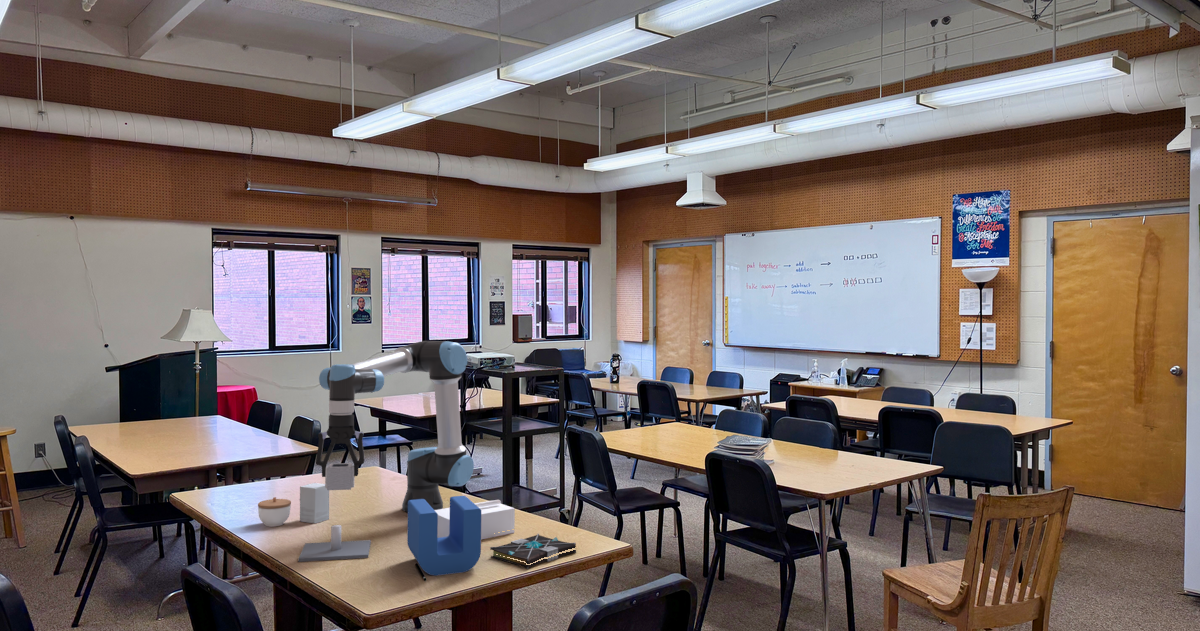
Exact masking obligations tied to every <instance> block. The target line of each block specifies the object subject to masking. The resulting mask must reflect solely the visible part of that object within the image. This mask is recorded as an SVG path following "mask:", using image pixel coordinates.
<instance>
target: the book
mask: <svg viewBox="0 0 1200 631" xmlns="http://www.w3.org/2000/svg"><path fill="white" fill-rule="evenodd" d="M576 544H577V543H576V542H567V541H562V540H559V539H558V538H557V536H555V537H554V538H549V537H547V536H543V535H540V534H539V533H537V534H535V535H533V536H529V537H526V538H519V539H516V540H512V541H510V542H509V543H505V544H502V545H499V546H490V547H489V548H490V551H491V550H492V552H493V554H492V555H490V559H496V560H500V561H505V562H508V563H510V564H513V565H517V566H520V567H522V568H525V569H527V570H529V568H532V567H534V566H537V565H539V564H541V563H545V562H546V563H548V562H551V561H556V560H558V559H559V558H560V557H564V556H568V555H571V554H575V553H576V554H577V549H576V550H573V551H570V552H566V553H562V554H559V555H557V556H554V557H551V558H548V559H543V560H541V561H538V562H536V563H533V562H535V561H537V560H539V559H541V558H544V557H549V556H551V555H553V554H556V553H559V552H562V551H565V550H568V549H572V548H575V547H576V548H577V546H576ZM496 554H498V555H496ZM500 555H501V556H500ZM503 556H505V557H503ZM507 557H510V558H514V559H518V560H521V561H525V562H526V563H527V564H530V563H533V564H531V565H526V563H524V562H520V561H517V560H513V559H510V558H507Z"/></svg>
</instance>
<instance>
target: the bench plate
mask: <svg viewBox="0 0 1200 631" xmlns="http://www.w3.org/2000/svg"><path fill="white" fill-rule="evenodd" d="M330 529H331V530H330V541H324V542H323V541H322V542H305V543H304V546H303V547H302V550H301V551H300V555H299V557H298V558H297V561H298V563H299V562H301V563H302V562H319V561H321V562H322V561H333V560H334V561H336V560H353V559H368V558H369V555H370V549H371V544H372V541H371V539H364V540H363V539H361V540H344V541H343V540H342V525H341V524H335V525H331V527H330Z"/></svg>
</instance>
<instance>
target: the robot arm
mask: <svg viewBox="0 0 1200 631" xmlns="http://www.w3.org/2000/svg"><path fill="white" fill-rule="evenodd" d="M467 365H468V355H467V352H466V349H465V348H464V347H463V346H462V344H461V343H459V342H453V341H449V340H447V341H446V340H443V341H442V340H440V341H439V340H422V341H418V342H413V343H410V344H408V345H404V346H401V347H398V348H396V349H395V350H394V351H392V352H390V353H389V352H388V353H385V354H382V355H378V356H375V357H371V358H368V359H363V360H360V361H357V362H353V363H350V364H348V363H346V364H341V363H340V364H332V365H331V366H330V367H326V368H324V369H322V370H321V371H320V374H319V375H318V382H319V385H320V386H321V388H323V389H324V390H327V391H328V390H329V398H328V401H329V403H328V412H329V415H328V428H327V430H326V431H324V432H322V431H321V432H319V433H318V434H317V437H318V446H317V453H316V459H315V460H316V461H315V465H316V466H321V476H322V478H324V479H325V480H324V484H325V488H327V468H328V466H329V465H328V462H329V461H330V460H329V459H330V457H331V455H332V452H333V449H334V447H335V445H337V444H338V445H339V444H342V445H343V444H344V445H346V447H347V449H348V452H349V455H350V458H351V460H352V463H353V465H352V476H351V489H352V488H355V477H358V475H359V467H360V465H364V463H365V451H364V443H363V442H364V441H363V438H364V432H363V431H357V430H356V429H355V415H354V414H353V413H354V412H355V394H365V393H367V394H368V393H370V394H371V393H375V392H379V391H380V390H382V389H383V388H384V385H385V377H388V376H391V375H394V374H397V373H402V374H406V373H409V372H423V373H424V372H425V373H428V374H429V376H428V377H429V380H430V381H431V382H433V387H434V388H433V389H434V399H435V415H436V416H435V417H436V429H437V443H438V444H437V446H430V447H420V448H415V449H411V450H409V451H408V454H407V460H406V463H407V465H406V466H407V467H406V468H407V469H406V470H407V471H406V472H407V473H406V474H407V476H406V478H407V487H406V491H405V494H404V498H403V500H402V505H401V509H402V511H403V512H405V513H408V501H409V500H416V499H425V500H426V502H427V503H428V504H429V505H430V506H431V507H432V508H433V509H434V510H438V509H444V501H443V498H442V495H441V491H440V488H439V485H444V486H448V487H463V486H464V485H466V484H467V483H468V482H469V481H470V480H471V477H472V475H473V472H474V470H475V469H474V466H475V463H474V462H475V461H474V458H472V456H470V455H469V454H467V448H466V446H465V445H463V443H462V442H463V441H462V427H461V425H462V424H461V413H460V396H459V381H460V379H462V373H464V372H465V370H466V368H467V367H466V366H467ZM327 436H328V438H329V439H330V440H331V441H330V444H329V447H328V449H327V451H326V454H325V455H324V456H325V457H324V459H323V461H322V455H323V451H324V450H323V449H324V443H325V439H326V438H327ZM354 436H355V437H356V439H357V444H358V445H357V446H358V455H359V460H358V457H357V455H356V452H355V449H354V447H353V443H352V441H351V440H352V438H353V437H354Z"/></svg>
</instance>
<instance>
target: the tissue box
mask: <svg viewBox="0 0 1200 631" xmlns="http://www.w3.org/2000/svg"><path fill="white" fill-rule="evenodd" d="M473 503H474V504H475V505H476V506H477V507H479V508H480V509H481V540H484V539H489V538H490V539H491V538H495V537H500V536H505V535H510V534H514V533H515V518H516V517H515V514H516V513H515V509H516V508H515V507H513V506H509V505H507V504H503V503H502V501H501V500H500V499H495V500H487V501H481V502H473ZM435 512H436V513H437V514H438V536H437V538H440V537H447V536H449V525H450V507H445V508H444V507H443V509H438V510H435ZM512 529H514V530H512ZM507 530H510V531H507ZM502 531H505V532H502ZM498 532H500V533H498ZM494 533H495V534H494Z"/></svg>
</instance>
